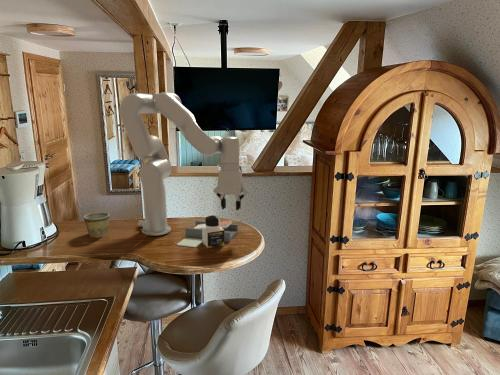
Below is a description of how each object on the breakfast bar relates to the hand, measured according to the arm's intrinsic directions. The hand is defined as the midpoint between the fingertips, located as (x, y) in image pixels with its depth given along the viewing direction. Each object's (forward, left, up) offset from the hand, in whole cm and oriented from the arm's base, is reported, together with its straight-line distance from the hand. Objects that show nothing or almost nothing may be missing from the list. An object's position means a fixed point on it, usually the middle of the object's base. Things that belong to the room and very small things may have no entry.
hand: (230, 208), depth 157 cm
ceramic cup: (-54, -16, -13) cm, 58 cm away
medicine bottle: (-4, -10, -13) cm, 17 cm away
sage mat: (-14, -12, -13) cm, 22 cm away
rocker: (-9, 0, -9) cm, 12 cm away
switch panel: (-9, 0, -13) cm, 15 cm away
